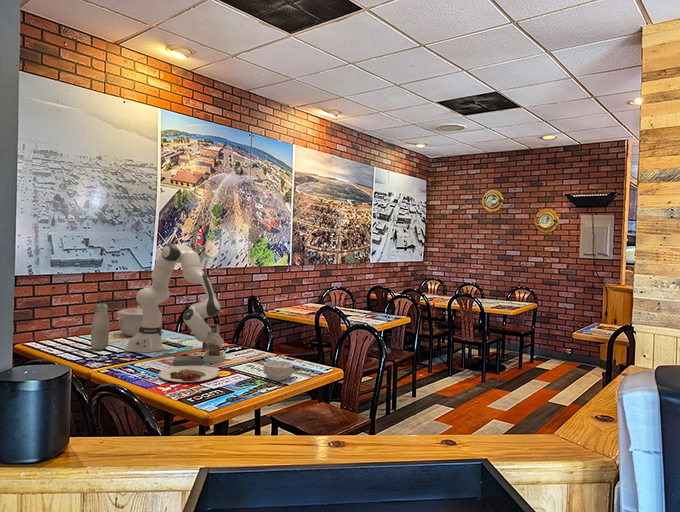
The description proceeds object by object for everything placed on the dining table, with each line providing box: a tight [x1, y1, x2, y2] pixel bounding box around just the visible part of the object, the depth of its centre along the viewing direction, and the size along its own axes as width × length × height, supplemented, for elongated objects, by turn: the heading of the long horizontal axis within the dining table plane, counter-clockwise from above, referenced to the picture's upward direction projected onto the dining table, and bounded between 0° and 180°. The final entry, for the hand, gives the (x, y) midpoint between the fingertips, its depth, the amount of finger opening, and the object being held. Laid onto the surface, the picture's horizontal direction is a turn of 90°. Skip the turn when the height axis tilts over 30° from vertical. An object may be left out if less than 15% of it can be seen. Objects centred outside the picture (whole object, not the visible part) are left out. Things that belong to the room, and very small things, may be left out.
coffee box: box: [201, 323, 221, 352], centre depth 311 cm, size 9×6×16 cm
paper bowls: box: [263, 360, 294, 382], centre depth 257 cm, size 15×15×8 cm
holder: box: [202, 351, 226, 363], centre depth 289 cm, size 12×12×3 cm
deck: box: [172, 355, 202, 367], centre depth 276 cm, size 14×10×3 cm
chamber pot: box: [116, 305, 143, 338], centre depth 344 cm, size 28×28×21 cm
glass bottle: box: [90, 303, 111, 351], centre depth 297 cm, size 10×10×28 cm
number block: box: [208, 343, 221, 356], centre depth 289 cm, size 4×5×10 cm
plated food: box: [157, 365, 220, 384], centre depth 253 cm, size 30×30×3 cm
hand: (215, 345), depth 289 cm, fingers open, 8 cm apart
